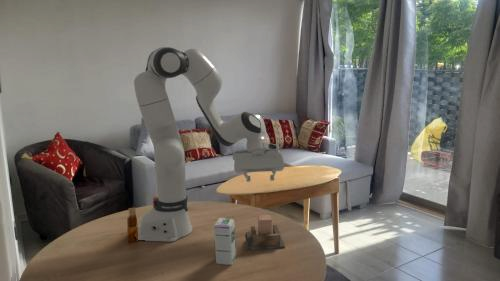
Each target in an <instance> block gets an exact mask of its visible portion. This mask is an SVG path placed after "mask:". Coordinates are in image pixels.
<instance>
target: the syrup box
mask: <svg viewBox="0 0 500 281" xmlns="http://www.w3.org/2000/svg"><path fill="white" fill-rule="evenodd" d="M216 220H217V221H216V222H215V223H214V225H213V230H214V247H215V248H214V250H215V261H216V262H215V263H216V264H217V265H227V266H233V264H234V262H235V260H236V257H237V248H236V247H237V243H236V242H237V241H236V225H235V219H234V218H230V217H218V219H216Z"/></svg>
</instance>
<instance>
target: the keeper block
mask: <svg viewBox="0 0 500 281" xmlns="http://www.w3.org/2000/svg"><path fill="white" fill-rule="evenodd" d="M272 220H273V219H272V217H271V214H259V215H258V214H257V232H258V235H259V234H272V231H273V223H272Z"/></svg>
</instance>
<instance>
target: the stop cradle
mask: <svg viewBox="0 0 500 281" xmlns="http://www.w3.org/2000/svg"><path fill="white" fill-rule="evenodd" d="M256 230H257V229H256V226H253V225H252V226H250V231H248V232H247V231H246V234H245V235H246V239H247V243H248V250H249V251H255V250H256V251H257V250H270V249H271V250H273V249H285V248H286V245H285V243H284V240H283V236H282V234H281V231H280V230H279V227H278V225H277V224H272V234H259V235H258V231H256Z"/></svg>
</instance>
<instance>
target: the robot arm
mask: <svg viewBox="0 0 500 281" xmlns="http://www.w3.org/2000/svg"><path fill="white" fill-rule="evenodd" d="M145 67H146V68H145V71H142V72H140V73H139V74H138V75H136V77H135V78H134V80H133V81H134V82H133V85H134V86H133V87H134V92H135V97H136V100H137V105H138V107H139V111H140V114H141V117H142V120H143V122H144V126H145V128H146V130H147V132H148V135H149V138H150V140H151V143H152V145H153V158H154V170H155V171H154V172H155V177H156V192H157V195H154V196H153V198H152V206H153V207H152V208H151V209H150V210H148V211H147V212H145V213H144V214H143V216H142V217H141V219H140V223H139V226H137V227H138V234H139V236H138V240H145V241H146V242H165V243H166V242H171V243H172V242H176V241H177V240H178V239H180V238H183V237H185V236H188V235H190V234H191V232H192V231H193V226H192V223H191V220H190V217H189V199H188V195H187V185H186V182H187V181H186V158H185V149H184V146H183V144H184V143H183V141H182V138H181V134H180V131H179V128H178V126H177V121H176V119H175V115H174V112H173V109H172V105H171V102H170V99H169V96H168V94H167V90H166V83H167V79H172V78H176V77H179V76H181V75H183V76H184V77H185V78H186V79H187V80H188V81H189V82H190V84H191V85H192V87H194V89H195V92H196V97H195V100H196V103H197V106H198V108H199V109H200V112H201V113H202V115H203V116H204V118H205V119H206V121H207V123H208V125H209V126H210V127H211V129H212V131H213V133H214V136H215V138H216V140H217V142H218V143H219V144H221V145H223V146H225V147H231V146H233V145H234V144H236V143H237V142H239V141H242V140H244V139H246V144H245V145H246V150H236V151H235V152H233V153H232V160H233V161H234V163H233V166H234V168H233V170H234V173H236V174H237V173H238V174H240V173H243V176H244V178H245V179H246V183H247V182H251V175H248V173H258V172H259V173H260V172H271V173H272V174H270V176H269V180H270V181H271V182H272V181H275V176H276V174H277V172H282V171H283V170H284V169H285V161H284V156H283V153H282V152H281V151H280V146H279V145H278V144H274V143H271V142H268V141H267V128H266V124H265V121H264V119H263V117H262V116H261V115H259V114H257V113H250V112H247V111H243V112H241V113H238V114H237V115H235V116H233V117H232V118H230V119H228V120H226V121H225V120H222V118H221V116H220V115H219V112H218V111H217V110H216V108H215V105H214V100H215V98H216V97H217V95H218V94H219V93H220V91H221V88H222V86H223V78H222V76H221V74H220V72H219V70H218V69H217V67H216V66H215V65H214V63H212V62H211V60H209V59H208V57H207V56H206V55H205V54H203V53H202V52H201V51H200V49H197V48H194V47H192V48H188V49H187V50H184V51H182V50H178V49H176V48H174V47H170V46H168V47H167V46H163V47H159V48H157V49H155V50H153V51H152V52H150V54H149V56H148V58H147V62H146V66H145ZM138 240H137V241H138ZM145 241H144V242H145Z"/></svg>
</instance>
